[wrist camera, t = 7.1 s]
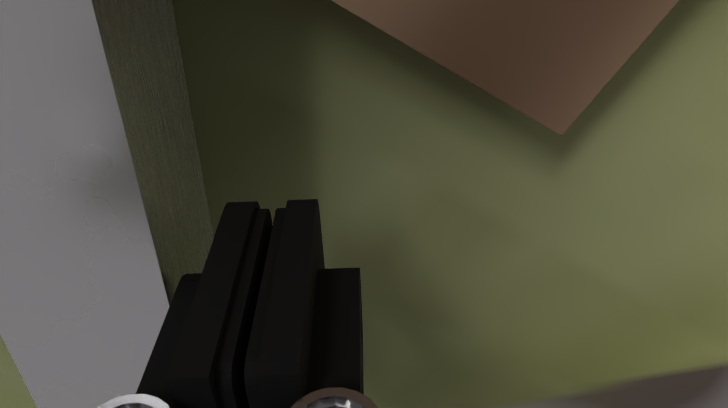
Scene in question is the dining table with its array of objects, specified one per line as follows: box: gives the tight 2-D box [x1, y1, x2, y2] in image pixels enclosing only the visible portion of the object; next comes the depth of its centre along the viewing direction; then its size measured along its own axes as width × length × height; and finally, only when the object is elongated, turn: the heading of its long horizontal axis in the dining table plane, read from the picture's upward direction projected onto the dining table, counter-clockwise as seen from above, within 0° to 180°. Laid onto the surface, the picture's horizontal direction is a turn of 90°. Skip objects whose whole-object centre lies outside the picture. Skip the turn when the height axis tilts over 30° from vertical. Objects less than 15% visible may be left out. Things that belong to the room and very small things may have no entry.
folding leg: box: [0, 0, 214, 408], centre depth 9 cm, size 15×3×3 cm, turn 179°
